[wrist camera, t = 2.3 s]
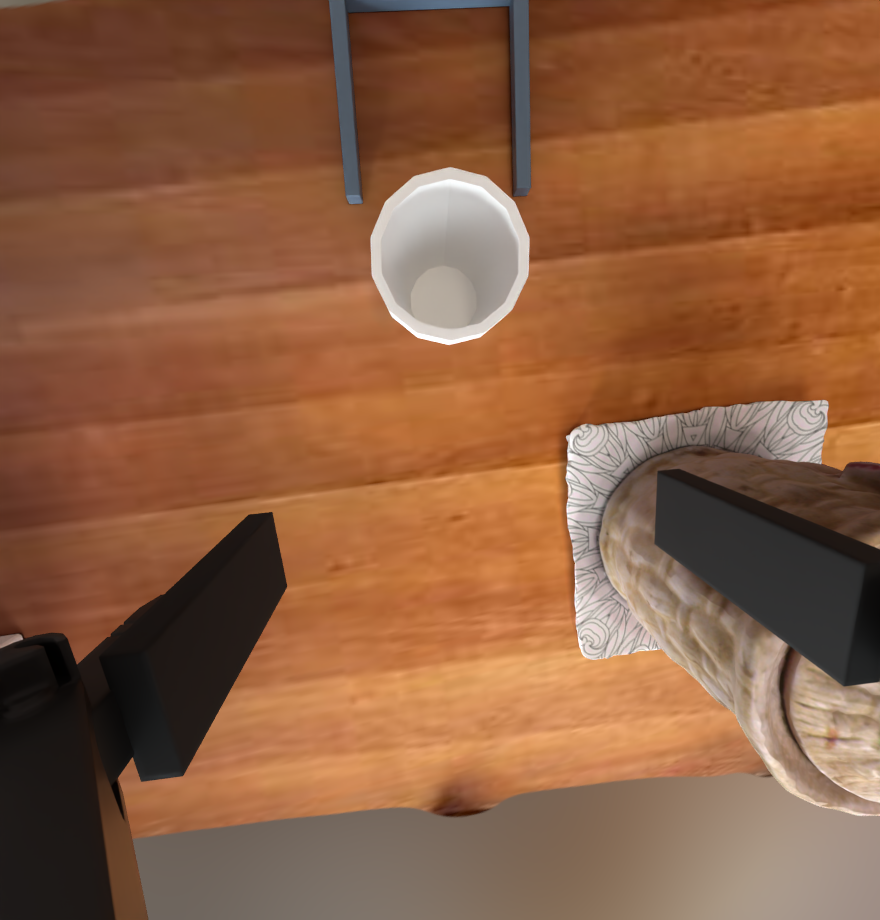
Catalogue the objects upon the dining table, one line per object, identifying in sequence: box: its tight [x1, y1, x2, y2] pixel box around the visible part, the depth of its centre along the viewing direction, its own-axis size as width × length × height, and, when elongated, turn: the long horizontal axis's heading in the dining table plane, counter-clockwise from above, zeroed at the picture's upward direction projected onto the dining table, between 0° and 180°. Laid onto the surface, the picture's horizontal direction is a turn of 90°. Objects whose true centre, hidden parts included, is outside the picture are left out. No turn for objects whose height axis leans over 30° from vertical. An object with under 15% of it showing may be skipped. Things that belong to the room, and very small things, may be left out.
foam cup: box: [371, 167, 529, 345], centre depth 30 cm, size 10×9×13 cm
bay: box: [329, 0, 531, 204], centre depth 33 cm, size 15×15×2 cm
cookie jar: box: [565, 400, 880, 816], centre depth 25 cm, size 25×25×32 cm
